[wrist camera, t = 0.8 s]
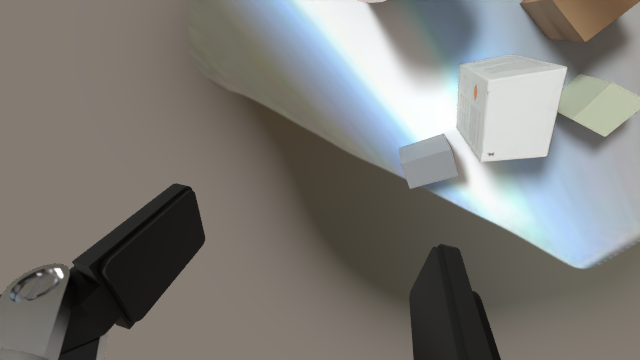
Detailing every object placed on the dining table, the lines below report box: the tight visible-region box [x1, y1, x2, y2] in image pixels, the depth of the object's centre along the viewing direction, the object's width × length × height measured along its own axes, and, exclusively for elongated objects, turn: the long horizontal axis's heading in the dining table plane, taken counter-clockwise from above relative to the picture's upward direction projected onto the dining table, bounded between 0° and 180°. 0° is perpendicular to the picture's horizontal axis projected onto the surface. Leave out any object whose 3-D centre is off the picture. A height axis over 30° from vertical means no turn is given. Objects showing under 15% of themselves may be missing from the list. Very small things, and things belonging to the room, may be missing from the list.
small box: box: [456, 54, 568, 162], centre depth 26 cm, size 8×6×10 cm
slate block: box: [399, 134, 458, 189], centre depth 34 cm, size 6×4×5 cm, turn 116°
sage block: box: [558, 74, 640, 137], centre depth 27 cm, size 4×4×5 cm
